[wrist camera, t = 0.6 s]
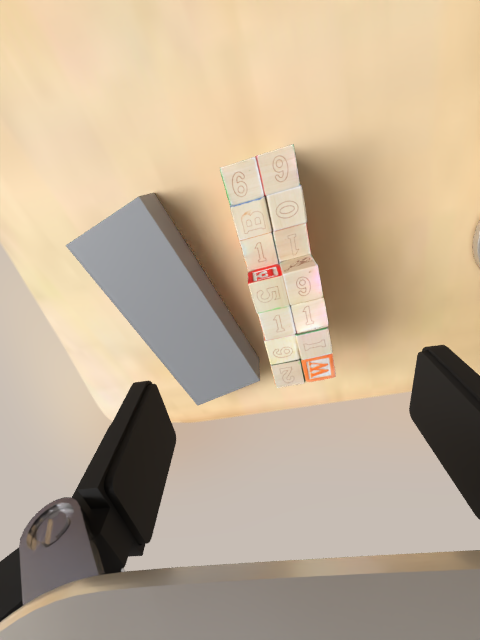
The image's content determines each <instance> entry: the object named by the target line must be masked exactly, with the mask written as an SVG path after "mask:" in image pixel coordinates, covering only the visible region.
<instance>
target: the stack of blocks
mask: <svg viewBox="0 0 480 640" xmlns="http://www.w3.org/2000/svg"><path fill="white" fill-rule="evenodd" d="M220 172H221V175H222V179H223V182H224V186H225V189H226V193H227V197H228V200H229V203H230V209H231V213H232V216H233V220H234V223H235V227H236V231H237V234H238V238H239V241H240V246H241V249H242V253H243V256H244V259H245V263H246V266H247V269H248V271H249V272H248V286H249V289H250V293H251V296H252V299H253V303H254V306H255V310H256V312H257V314H258V317H259V321H260V324H261V328H262V331H263V335H264V343H265V347H266V350H267V354H268V357H269V361H270V365H271V370H272V374H273V378H274V381H275V385H276V388H280V387H285V386H291V385H297V384H303V383H304V382H305V381H306V382H313V381H318V380H323V379H328V378H333V377H336V373H335V367H334V361H333V355H332V352H333V351H332V345H331V339H330V334H329V329H328V325H329V323H328V317H327V311H326V306H325V300H324V297H323V291H322V285H321V279H320V274H319V268H318V265H317V263H316V262H315V260H314V258H313V257H312V255H311V249H310V242H309V236H308V229H307V215H306V208H305V202H304V196H303V190H302V186H301V185H300V181H299V174H298V168H297V162H296V155H295V149H294V145H293V144H292V145H289V146H286V147H282V148H279V149H276V150H273V151H270V152H267V153H263V154H260V155H257V156H255V157H252V158H249V159H246V160H243V161H240V162H236V163H233V164H230V165H227V166H224V167H221V168H220Z"/></svg>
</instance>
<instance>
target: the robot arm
mask: <svg viewBox="0 0 480 640" xmlns="http://www.w3.org/2000/svg"><path fill="white" fill-rule="evenodd" d="M473 255H474V258H475V261H476V263H477V265H478V266H479V267H480V221H479V223H478V225H477V227H476V230H475V234H474V237H473ZM409 409H410V410H409V411H410V416H411V418H412V420H413V421H414V423H415V424H416V426H417V427H418V429H419V431H420V432H421V434H422V435H423V436H424V438H425V439H426V441H427V443H428V444H429V446H430V447H431V448H432V450H433V452H434V453H435V455H436V456H437V458H438V459H439V461H440V462H441V464H442V465H443V467H444V468H445V470H446V471H447V473H448V474H449V476H450V477H451V479H452V480H453V482H454V483H455V485H456V487H457V488H458V489H459V491H460V492H461V494H462V496H463V497H464V498H465V500H466V501H467V503H468V505H469V506H470V508H471V509H472V511H473V512H474V514H475V515H476V516H477V517H478V519H480V376H479V375H478V374H477V373H476V372H475V371H474V370H473V369H471V368H470V367H469V366H468V365H467V364H466V363H465V362H464V361H462V360H461V359H460V358H459V357H458V356H457V355H456V354H455V353H453V352H452V351H451V350H450V349H449V348H448V347H446V346H445V345H438V346H430V347H425V348H423V350H422V352H419V353H418V355H417V362H416V368H415V375H414V381H413V388H412V395H411V401H410V408H409ZM175 444H176V434H175V431H174V428H173V426H172V423H171V421H170V418H169V415H168V413H167V410H166V408H165V405H164V403H163V400H162V398H161V395H160V393H159V390H158V387H157V385H156V384H152V382H151V381H143V382H135V383H133V385H132V386H131V388H130V390H129V392H128V394H127V396H126V398H125V399H124V401H123V403H122V405H121V407H120V409H119V411H118V413H117V415H116V417H115V418H114V420H113V422H112V424H111V425H110V427H109V428H108V430H107V432H106V434H105V436H104V438H103V440H102V441H101V443H100V445H99V447H98V449H97V451H96V453H95V455H94V457H93V459H92V460H91V462H90V464H89V466H88V468H87V470H86V472H85V474H84V476H83V478H82V479H81V481H80V483H79V485H78V487H77V489H76V491H75V493H74V494H73V496H72V498H69V497H64V498H61V499H58V500H55V501H53V502H51V503H49V504H48V505H46V506H45V507H44V508H42V509H41V510H40V511H39V512H38V513H37V514H36V515H35V516H34V517H33V518H32V519H31V520H30V522H29V523H28V525H27V526H26V528H25V529H24V531H23V534H22V536H21V538H20V545H19V548H18V549H16V550H15V551H14V552H12V553H11V554H10V555H9V556H7V557H6V558H5V559H3V560H2V561H1V562H0V640H480V550H473V551H454V552H435V553H416V554H396V555H377V556H360V557H341V558H325V559H324V558H323V559H306V560H288V561H271V562H255V563H239V564H223V565H207V566H191V567H175V568H163V569H152V570H139V571H127V572H125V571H124V566H125V564H126V561H127V558H128V556H142V555H143V551H144V547H145V543H149V542H150V540H151V537H152V533H153V529H154V526H155V522H156V518H157V514H158V510H159V506H160V502H161V499H162V495H163V491H164V487H165V483H166V479H167V474H168V471H169V467H170V463H171V459H172V455H173V451H174V447H175Z"/></svg>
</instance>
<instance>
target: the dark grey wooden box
mask: <svg viewBox="0 0 480 640" xmlns="http://www.w3.org/2000/svg"><path fill="white" fill-rule="evenodd" d="M66 247H67V248H68V249H69V250H70V251H71V253H72V254H73V255H74V256H75V257H76V259H77V260H78V261H79V262H80V263H81V265H82V266H83V267H84V268H85V270H86V271H87V272H88V273H89V274H90V276H91V277H92V278H93V279H94V280H95V282H96V283H97V284H98V285H99V287H100V288H101V289H102V290H103V291H104V293H105V294H106V295H107V296H108V297H109V299H110V300H111V301H112V302H113V303H114V305H115V306H116V307H117V308H118V310H119V311H120V312H121V313H122V314H123V316H124V317H125V318H126V319H127V320H128V322H129V323H130V324H131V325H132V326H133V328H134V329H135V330H136V331H137V333H138V334H139V335H140V336H141V337H142V339H143V340H144V341H145V342H146V343H147V345H148V346H149V347H150V348H151V350H152V351H153V352H154V353H155V354H156V356H157V357H158V358H159V359H160V360H161V362H162V363H163V364H164V365H165V366H166V368H167V369H168V370H169V371H170V373H171V374H172V375H173V376H174V377H175V379H176V380H177V381H178V382H179V383H180V385H181V386H182V387H183V388H184V389H185V391H186V392H187V393H188V394H189V396H190V397H191V398H192V399H193V400H194V402H195V403H196V404H197V405H200V404H203V403H205V402H208V401H210V400H213V399H215V398H218V397H220V396H223V395H225V394H228V393H230V392H233V391H235V390H238V389H240V388H243V387H245V386H248V385H250V384H253V383H255V382H258V381H260V369H259V358H258V356H257V355H256V353H255V351H254V350H253V348H252V347H251V345H250V343H249V342H248V340H247V339H246V337H245V336H244V334H243V332H242V331H241V329H240V328H239V326H238V324H237V323H236V321H235V320H234V318H233V317H232V315H231V313H230V312H229V310H228V309H227V307H226V306H225V304H224V302H223V301H222V299H221V298H220V296H219V294H218V293H217V291H216V290H215V288H214V287H213V285H212V283H211V282H210V280H209V279H208V277H207V275H206V274H205V272H204V271H203V269H202V268H201V266H200V264H199V263H198V261H197V260H196V258H195V256H194V255H193V253H192V252H191V250H190V249H189V247H188V245H187V244H186V242H185V241H184V239H183V238H182V236H181V234H180V233H179V231H178V230H177V228H176V226H175V225H174V223H173V222H172V220H171V219H170V217H169V215H168V214H167V212H166V211H165V209H164V207H163V206H162V204H161V203H160V201H159V200H158V198H157V196H156V195H155V193H151V194H147V195H143V196H139V197H137V198H136V199H134V200H133V201H131V202H130V203H128V204H127V205H125V206H124V207H122V208H121V209H119V210H118V211H116V212H115V213H114V214H112V215H111V216H109V217H108V218H106V219H105V220H103V221H102V222H100V223H99V224H97V225H96V226H94V227H93V228H91V229H90V230H88V231H87V232H85V233H84V234H82V235H81V236H79V237H78V238H76V239H75V240H73V241H72V242H70V243H69V244H67V245H66Z"/></svg>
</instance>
